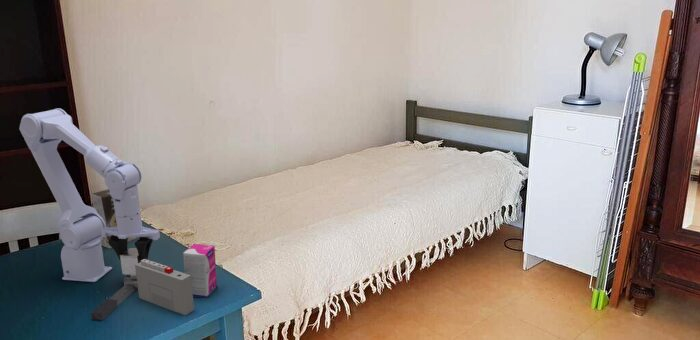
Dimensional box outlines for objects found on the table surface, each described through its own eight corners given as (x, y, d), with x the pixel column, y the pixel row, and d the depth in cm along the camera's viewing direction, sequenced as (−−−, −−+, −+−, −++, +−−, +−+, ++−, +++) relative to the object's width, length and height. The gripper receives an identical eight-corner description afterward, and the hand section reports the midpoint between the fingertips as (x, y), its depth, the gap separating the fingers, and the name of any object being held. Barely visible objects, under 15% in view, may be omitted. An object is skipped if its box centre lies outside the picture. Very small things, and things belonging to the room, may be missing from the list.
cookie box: (110, 249, 159) (103, 197, 155) (97, 244, 163) (90, 193, 158) (137, 238, 167) (131, 188, 162) (124, 234, 170) (117, 185, 165)
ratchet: (132, 278, 142) (130, 263, 141) (153, 279, 141) (152, 264, 140) (85, 319, 123) (82, 302, 122) (109, 321, 122) (107, 304, 121)
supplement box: (208, 298, 132) (204, 254, 129) (185, 295, 133) (181, 252, 130) (218, 286, 137) (214, 245, 134) (196, 284, 138) (192, 243, 135)
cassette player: (194, 310, 127) (190, 271, 124) (185, 315, 124) (181, 276, 122) (148, 293, 134) (143, 256, 131) (139, 298, 132) (134, 260, 129)
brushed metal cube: (122, 274, 136) (119, 255, 135) (132, 266, 140) (130, 247, 139) (139, 275, 135) (137, 256, 134) (149, 267, 140) (146, 248, 138)
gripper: (90, 217, 131) (98, 269, 134) (147, 220, 128) (153, 273, 132) (107, 207, 137) (114, 256, 141) (161, 210, 135) (167, 260, 139)
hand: (134, 263), depth 137 cm, fingers closed on brushed metal cube, 5 cm apart
